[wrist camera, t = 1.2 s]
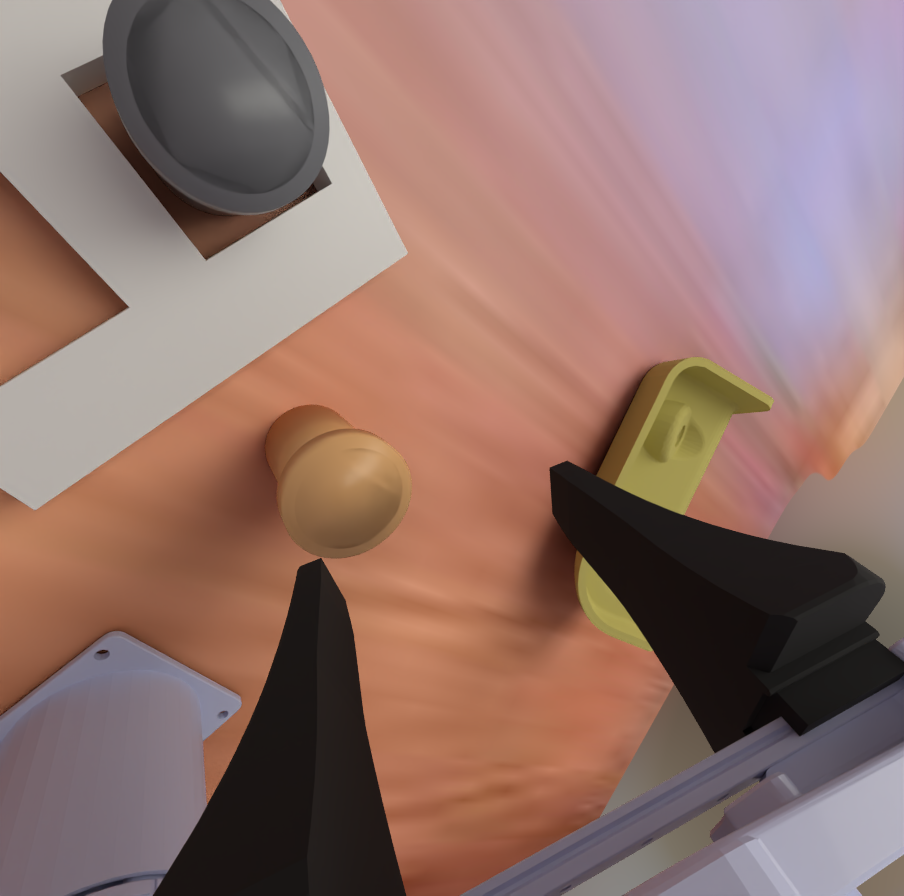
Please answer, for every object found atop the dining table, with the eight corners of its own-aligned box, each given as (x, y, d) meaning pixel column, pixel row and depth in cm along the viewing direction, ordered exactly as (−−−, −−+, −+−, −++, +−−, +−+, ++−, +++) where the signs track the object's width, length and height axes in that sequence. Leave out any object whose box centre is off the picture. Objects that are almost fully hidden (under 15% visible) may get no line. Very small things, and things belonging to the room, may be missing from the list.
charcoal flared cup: (203, 253, 16) (216, 247, 11) (86, 103, 13) (38, 12, 9) (309, 188, 17) (363, 158, 12) (221, 37, 14) (245, -77, 10)
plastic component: (682, 343, 29) (792, 410, 31) (621, 357, 36) (713, 409, 38) (553, 612, 29) (671, 661, 31) (517, 571, 36) (615, 613, 38)
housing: (48, 486, 16) (34, 510, 14) (-492, 112, 9) (-629, 81, 8) (388, 254, 19) (408, 253, 18) (179, -140, 13) (180, -198, 11)
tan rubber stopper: (300, 511, 21) (336, 581, 17) (230, 441, 19) (250, 501, 14) (377, 449, 22) (432, 499, 18) (321, 375, 20) (369, 409, 15)
